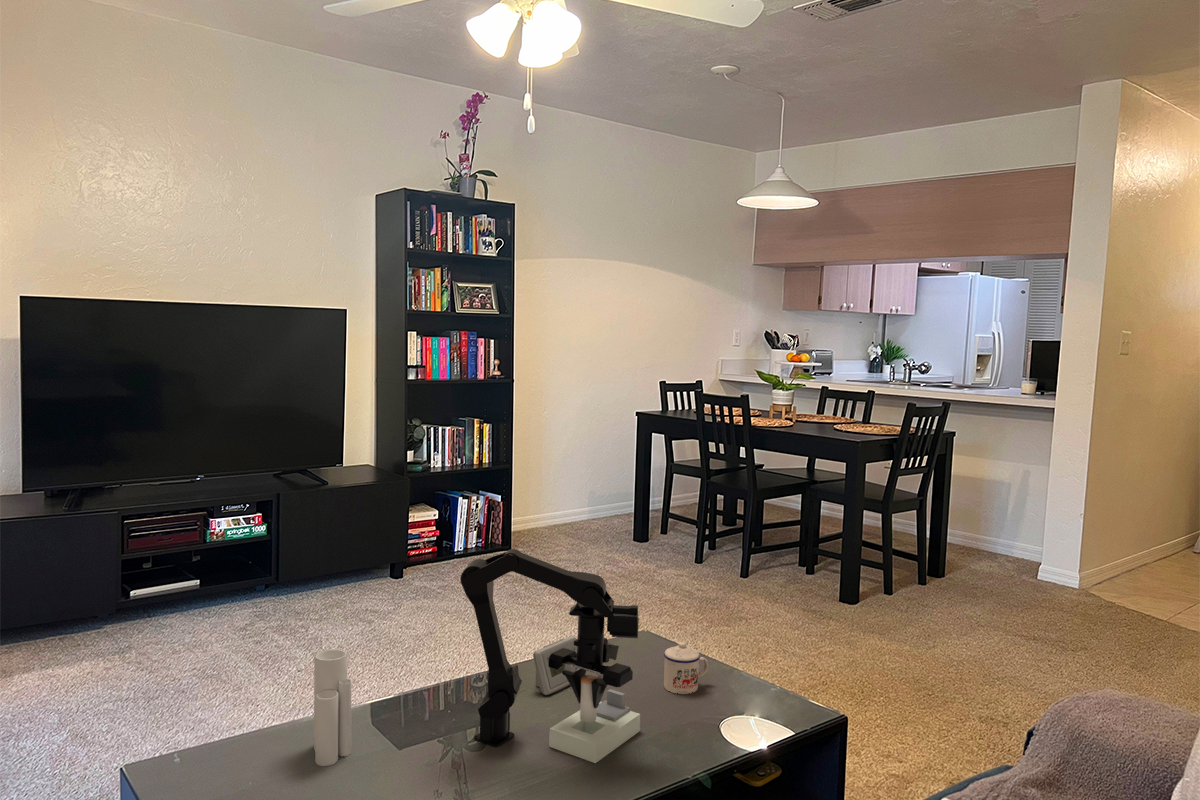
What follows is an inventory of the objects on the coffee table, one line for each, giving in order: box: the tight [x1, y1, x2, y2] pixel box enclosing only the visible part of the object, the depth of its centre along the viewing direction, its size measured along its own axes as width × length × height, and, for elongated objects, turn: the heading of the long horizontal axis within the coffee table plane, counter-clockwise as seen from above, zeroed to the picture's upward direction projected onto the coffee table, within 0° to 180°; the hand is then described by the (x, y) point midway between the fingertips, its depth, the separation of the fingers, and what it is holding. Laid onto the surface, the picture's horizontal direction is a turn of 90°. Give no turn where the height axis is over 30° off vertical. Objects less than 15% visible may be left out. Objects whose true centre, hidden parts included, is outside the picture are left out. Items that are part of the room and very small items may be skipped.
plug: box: [579, 674, 597, 722], centre depth 185 cm, size 4×4×9 cm
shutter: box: [597, 689, 631, 721], centre depth 192 cm, size 7×7×4 cm
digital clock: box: [532, 635, 577, 696], centre depth 216 cm, size 16×9×11 cm, turn 132°
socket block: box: [548, 701, 641, 764], centre depth 188 cm, size 18×12×4 cm, turn 147°
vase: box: [313, 648, 352, 767], centre depth 178 cm, size 11×7×20 cm, turn 22°
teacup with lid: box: [663, 641, 709, 695], centre depth 217 cm, size 12×9×12 cm
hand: (588, 705), depth 185 cm, fingers closed on plug, 4 cm apart
